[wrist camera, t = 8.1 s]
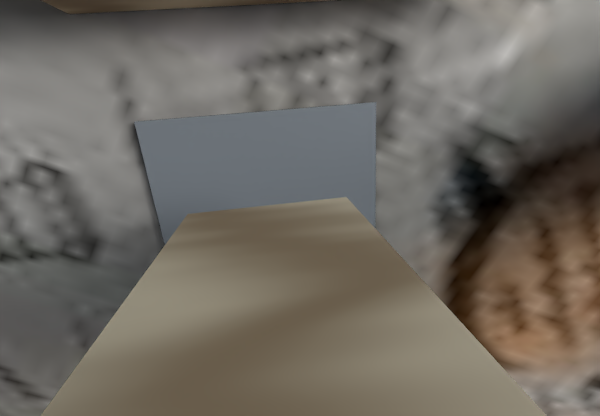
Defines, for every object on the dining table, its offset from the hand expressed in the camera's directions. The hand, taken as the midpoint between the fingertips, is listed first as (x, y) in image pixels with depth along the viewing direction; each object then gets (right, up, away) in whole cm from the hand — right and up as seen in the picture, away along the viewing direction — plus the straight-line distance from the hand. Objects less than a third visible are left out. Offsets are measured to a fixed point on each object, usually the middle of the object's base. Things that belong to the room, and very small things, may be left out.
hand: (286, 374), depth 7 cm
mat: (-1, +3, +10) cm, 11 cm away
